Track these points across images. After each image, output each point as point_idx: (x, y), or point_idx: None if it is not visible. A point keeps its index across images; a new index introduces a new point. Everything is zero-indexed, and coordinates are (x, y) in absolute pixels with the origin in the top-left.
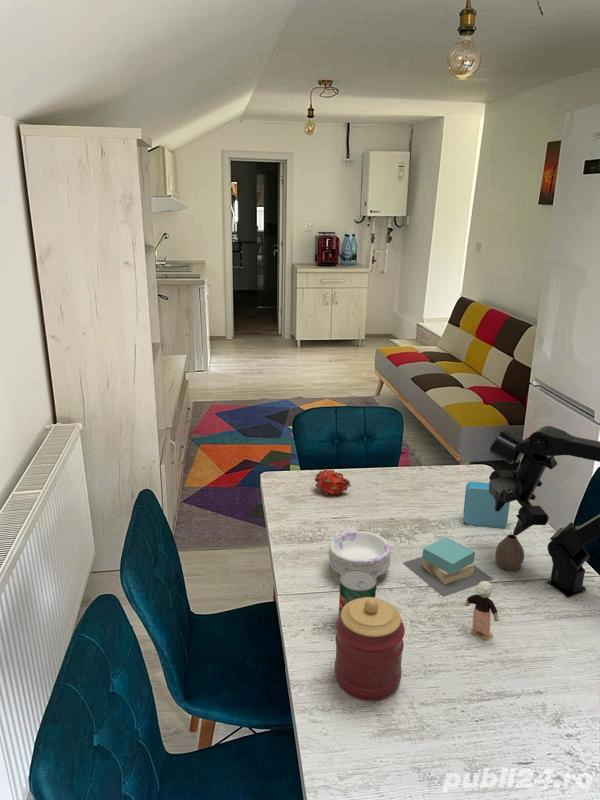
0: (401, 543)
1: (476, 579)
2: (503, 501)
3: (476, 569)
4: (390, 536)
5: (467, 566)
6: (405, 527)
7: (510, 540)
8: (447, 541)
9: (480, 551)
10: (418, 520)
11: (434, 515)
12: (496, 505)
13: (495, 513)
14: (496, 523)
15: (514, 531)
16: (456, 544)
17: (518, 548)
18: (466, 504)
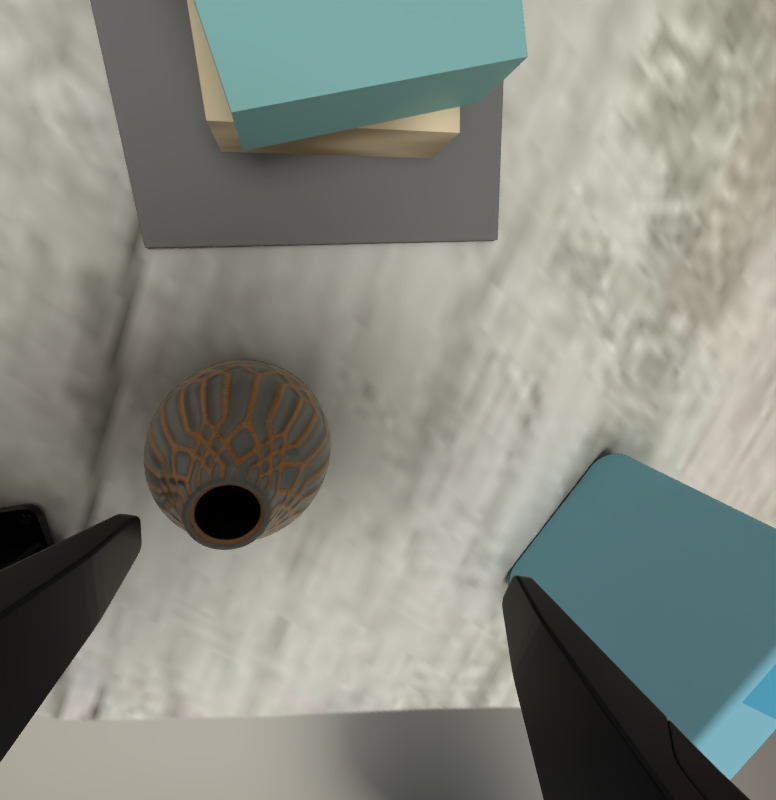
0: (655, 23)
1: (172, 137)
2: (560, 765)
3: (270, 222)
4: (725, 20)
5: (201, 45)
6: (728, 172)
7: (197, 475)
8: (467, 3)
9: (416, 377)
10: (727, 278)
11: (711, 373)
12: (559, 633)
13: (577, 592)
14: (537, 563)
15: (80, 544)
16: (395, 40)
17: (158, 494)
18: (703, 496)
